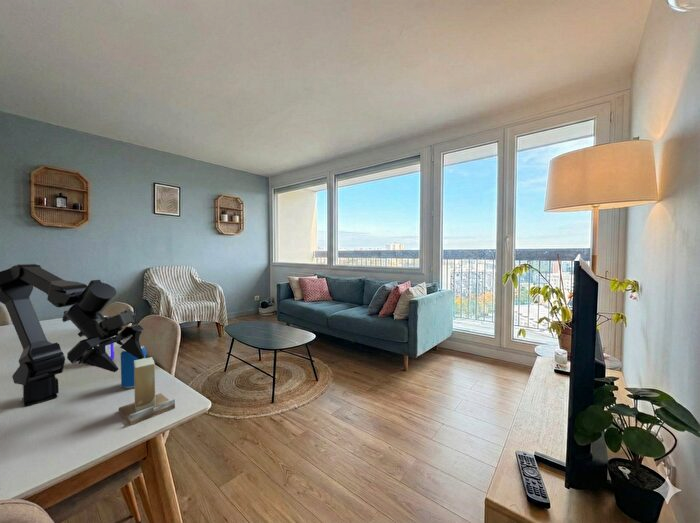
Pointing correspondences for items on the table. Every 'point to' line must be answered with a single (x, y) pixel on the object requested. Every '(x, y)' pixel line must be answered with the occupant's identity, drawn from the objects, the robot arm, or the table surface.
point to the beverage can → (128, 368)
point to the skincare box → (144, 383)
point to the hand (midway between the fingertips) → (130, 364)
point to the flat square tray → (135, 417)
